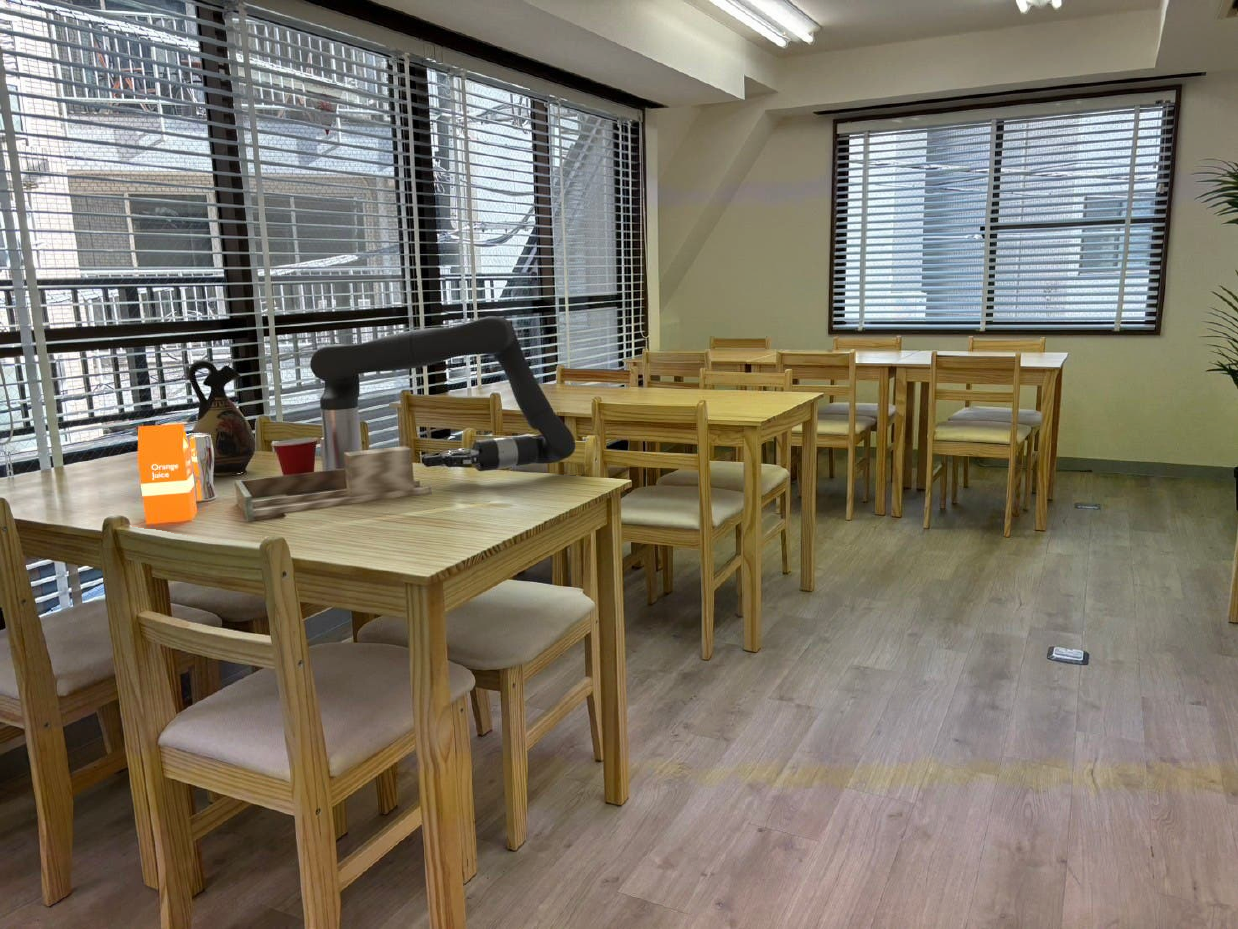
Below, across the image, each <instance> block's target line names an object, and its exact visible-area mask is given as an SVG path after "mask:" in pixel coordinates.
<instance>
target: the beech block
mask: <svg viewBox="0 0 1238 929" xmlns="http://www.w3.org/2000/svg"><path fill="white" fill-rule="evenodd" d="M344 461H345V472H346V483H347V495H348V497H357V496H364V495H372V494H380V493H387V492H395V491H403V490H410V489H414V481H415V480H414V479H415V478H414V467H413V453H412V448H410V447H409V446H407V445H403V446H394V447H385V448H375V449H367V450H362V451H355V452H346V453H344Z"/></svg>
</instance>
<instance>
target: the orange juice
mask: <svg viewBox="0 0 1238 929" xmlns="http://www.w3.org/2000/svg"><path fill="white" fill-rule="evenodd" d="M137 427H138V429H137V430H138V434H137V455H136V456H137V464H138V471H139V472H138V473H139V479H140V487H141V488H140V489H141V494H142V499H143V509H144V516H145V522H146V523H145V524H146V525H154V524H163V523H165V524H166V523H177V522H187V520H188V521H192V520H193V519H194V518H195V516H196V515H197V513H198V508H197V502H196V498H195V490H194V479H193V473H192V465H191V457H190V448H189V444H188V440H187V437H186V434H187V433H186V429H185V426H184V423H175V424H174V423H173V424H160V425H159V424H158V425H143V426H142V425H141V426H137ZM195 514H196V515H195Z"/></svg>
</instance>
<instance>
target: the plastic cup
mask: <svg viewBox="0 0 1238 929" xmlns="http://www.w3.org/2000/svg"><path fill="white" fill-rule="evenodd" d="M318 440H319V437H301V438H293V439H286V440H280V441H276V442H271V444H270V445H271V446H272V447H273V448H274V451H275V453H276V456H277V457H278V462H279V466H280V469H281V474H282V476H283V475H292V474H300V473H309V472H315V461H316V451H317V443H318Z"/></svg>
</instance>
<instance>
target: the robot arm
mask: <svg viewBox="0 0 1238 929" xmlns="http://www.w3.org/2000/svg"><path fill="white" fill-rule="evenodd" d="M476 355H478V356H479V355H492V356H493V358H495V360H496V361H497V363H498V364H499V365H500V367H501V368H502V370H503V371H504V374H505V375H506V377H507V380H508V382H509V386H510V389H511V391H512V394H513V397H514V399H515V402H516V403H517V405H518V408H519V410H520V411H521V413H522V415H523V417H524V418H525V420H526V422H527V423H528V425H529V426H530V428H531V429H532V430H535V431H538V432H539V433H540V435H541V436H539V437H533V436H530V435H522V436H521V435H520V436H514V437H504V436H503V437H495V438H494V437H493V438H487V439H485V438H484V439H475V441H473V444H472V446H471V449H468V448H467V447H461V448H459V449H455V448H452V449H448V450H445V451H440V452H439V454H438V455H431V456H429V455H427V456H424V457H423V466H425V467H426V468H431V467H438V466H439V467H448V468H472V467H473V466H474V467H475V470H477V471H478V472H488V471H494V470H495V471H496V470H502V469H508V468H512V467H519V466H527V465H531V464H536V465H537V464H545V465H547V464H555V463H558V462H562V461H563V460H565V459H567V458H569V457H571V456H573V454H574V452H575V450H576V441H575V437H574V435H573V432H571V430H570V428H568V427H567V425H566V424H565V423H564V422H563V420H562V419H561V418H560V417H559V416H558V415H557V414H556V412H555V411H554V409H553V407H552V405H551V404H550V402H549V400H548V398H547V396H546V395H545V393H544V391H543V390H542V387H541V386H540V385H539V382H538V381H537V379H536V377H535V375H534V374H533V372H532V370H531V367H530V366H529V364H528V362H527V360H526V357H525V355H524V352H523V350H522V348H521V345H520V342H519V339H518V337H517V333H516V331H515V328H514V326H513V325H512V323H511V322H510V321H509V320H507V318H504V317H502V316H494V315H493V316H492V315H491V316H484V317H483V318H478V319H476V320H471V321H470V322H465V323H462V324H459V325H454V326H448V327H429V328H420V329H413V330H407V331H401V332H398V333H397V332H396V333H393V334H389V335H386V336H385V335H384V336H382V337H378V338H375V339H372V340H369V341H366V342H361V343H356V344H343V343H334V344H329V345H324V346H322V347H319V348H318V349H317V350H316V351H315V352H314V353H313V354H312V356H311V359H310V362H309V366H310V371H312V373H313V375H314V376H315V377H316V378H318V379H319V380H321V381H324V390H323V393H322V395H321V397H320V398H319V404H320V405H319V409H320V414H321V415H320V417H321V426H322V427H321V428H322V437H321V438H320V440H319V443H320V444H319V445H320V452H321V453H320V454H321V465H322V471H326V470H335V469H344V468H345V461H344V453H346V452H355V451H363V450H362V449H363V448H362V447H363V446H362V435H361V425H360V424H361V423H360V414H359V412H360V411H359V402H358V401H359V397H360V375H361V374H367V373H379V372H381V373H382V372H392V371H393V372H395V371H404V370H411V369H417V368H422V367H427V366H431V365H436V364H439V363H442V362H444V361H447V360H449V359H453V358H457V357H464V356H476Z"/></svg>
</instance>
